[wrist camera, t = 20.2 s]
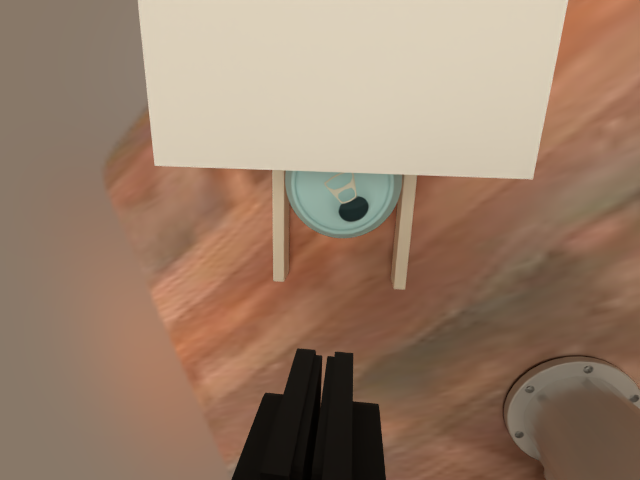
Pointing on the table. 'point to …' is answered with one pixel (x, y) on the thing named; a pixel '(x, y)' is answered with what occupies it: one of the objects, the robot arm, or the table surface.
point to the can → (342, 200)
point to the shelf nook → (350, 91)
